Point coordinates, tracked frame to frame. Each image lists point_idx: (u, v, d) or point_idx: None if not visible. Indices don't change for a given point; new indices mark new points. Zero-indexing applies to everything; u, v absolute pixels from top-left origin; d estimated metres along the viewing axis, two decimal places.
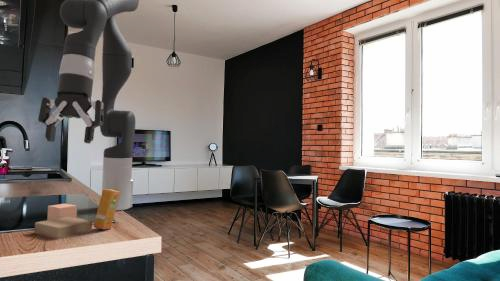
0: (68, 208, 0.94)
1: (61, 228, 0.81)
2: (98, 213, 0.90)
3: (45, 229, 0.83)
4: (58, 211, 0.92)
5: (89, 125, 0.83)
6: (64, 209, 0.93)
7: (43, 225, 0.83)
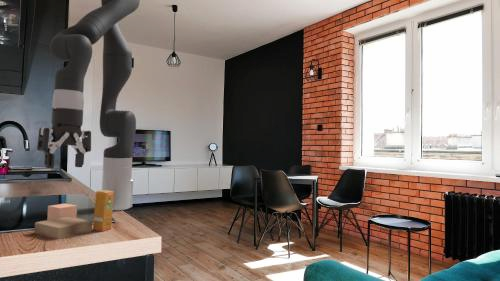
0: (68, 208, 0.94)
1: (61, 228, 0.81)
2: (95, 216, 0.90)
3: (45, 229, 0.83)
4: (58, 211, 0.92)
5: (84, 152, 0.99)
6: (64, 209, 0.93)
7: (43, 225, 0.83)
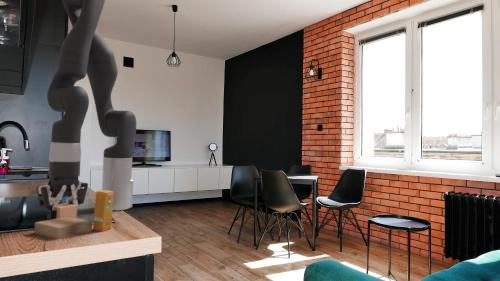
0: (68, 208, 0.94)
1: (61, 228, 0.81)
2: (95, 216, 0.90)
3: (45, 229, 0.83)
4: (59, 211, 0.92)
5: None
6: (64, 208, 0.93)
7: (43, 225, 0.83)
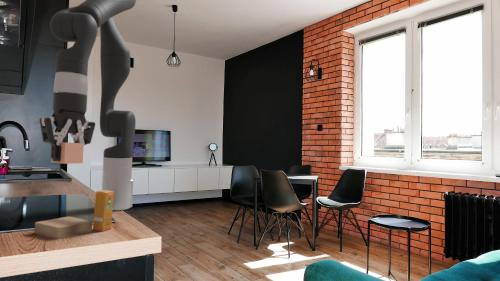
0: (74, 144, 0.86)
1: (61, 228, 0.81)
2: (95, 216, 0.90)
3: (45, 229, 0.83)
4: (63, 146, 0.84)
5: None
6: (70, 144, 0.85)
7: (43, 225, 0.83)
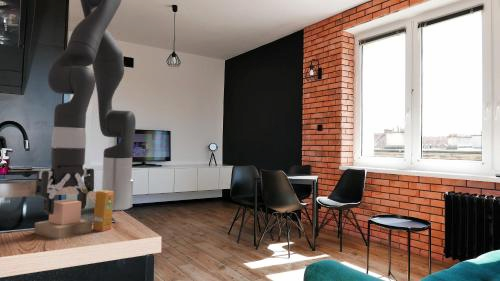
0: (71, 204, 0.86)
1: (61, 228, 0.81)
2: (95, 216, 0.90)
3: (45, 229, 0.83)
4: (61, 207, 0.84)
5: (86, 193, 0.91)
6: (67, 205, 0.85)
7: (43, 225, 0.83)
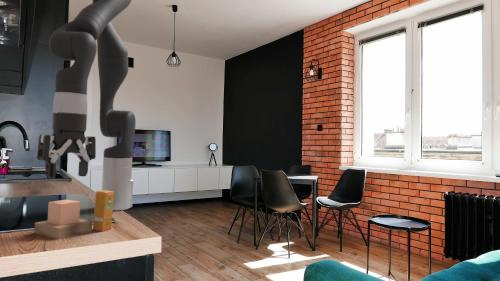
0: (70, 204, 0.85)
1: (61, 228, 0.81)
2: (95, 216, 0.90)
3: (45, 229, 0.83)
4: (59, 207, 0.83)
5: (88, 160, 0.91)
6: (66, 205, 0.84)
7: (43, 225, 0.83)
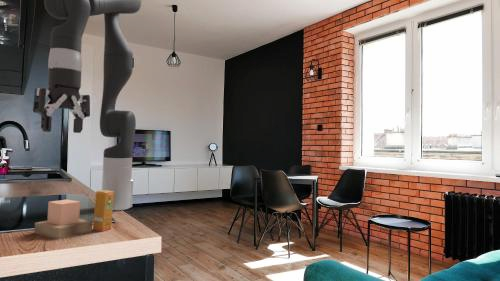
0: (70, 204, 0.85)
1: (61, 228, 0.81)
2: (95, 216, 0.90)
3: (45, 229, 0.83)
4: (60, 207, 0.84)
5: (82, 117, 0.94)
6: (66, 205, 0.84)
7: (43, 225, 0.83)
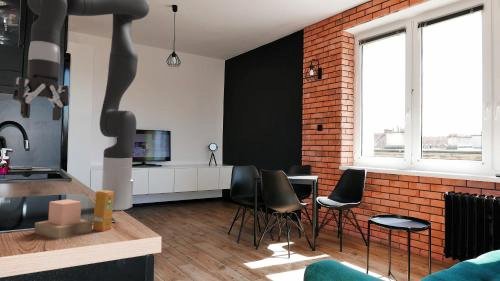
0: (72, 204, 0.85)
1: (61, 228, 0.81)
2: (95, 216, 0.90)
3: (45, 229, 0.83)
4: (61, 207, 0.84)
5: (61, 106, 1.01)
6: (67, 205, 0.84)
7: (43, 225, 0.83)
